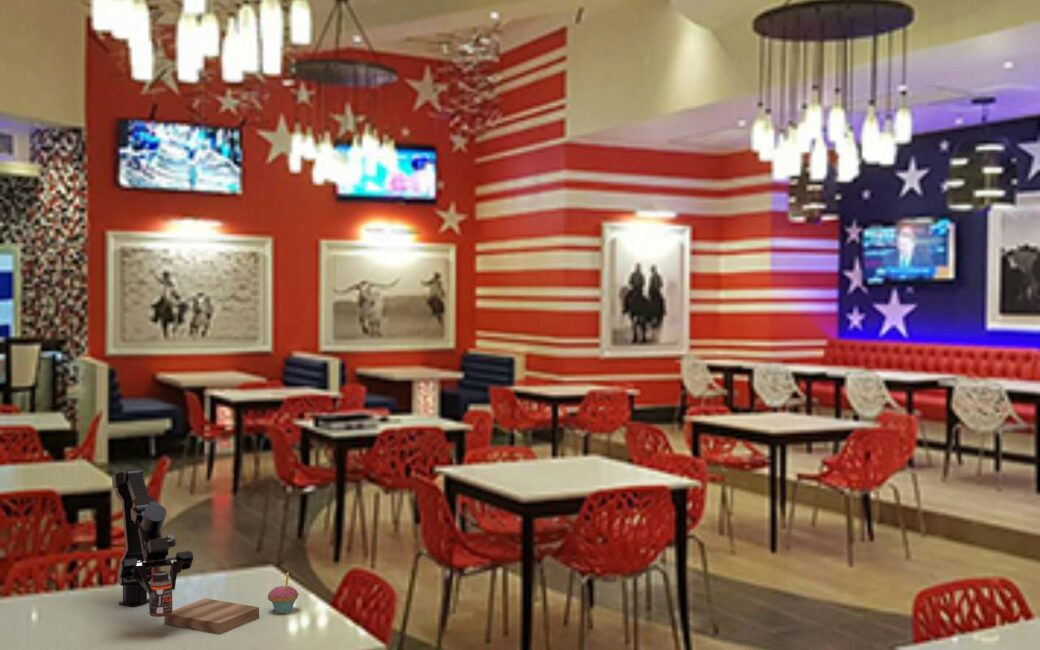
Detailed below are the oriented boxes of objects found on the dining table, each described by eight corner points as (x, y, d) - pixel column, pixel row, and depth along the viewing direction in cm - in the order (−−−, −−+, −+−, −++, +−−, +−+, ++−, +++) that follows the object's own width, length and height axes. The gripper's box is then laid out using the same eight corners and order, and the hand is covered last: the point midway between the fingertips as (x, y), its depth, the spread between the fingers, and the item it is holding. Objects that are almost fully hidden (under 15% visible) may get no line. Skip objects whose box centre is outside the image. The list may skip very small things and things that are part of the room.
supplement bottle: (165, 618, 285) (164, 576, 285) (144, 617, 287) (144, 575, 286) (176, 611, 291) (176, 570, 291) (156, 610, 292) (156, 569, 292)
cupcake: (304, 608, 311) (303, 567, 311) (286, 617, 304) (285, 575, 303) (280, 605, 315) (279, 564, 315) (261, 613, 307) (261, 571, 307)
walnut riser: (164, 624, 298) (164, 613, 298) (205, 608, 312) (205, 598, 312) (219, 634, 289) (219, 623, 289) (259, 617, 303) (259, 607, 303)
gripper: (120, 529, 286) (129, 580, 277) (191, 521, 296) (202, 570, 287) (115, 552, 293) (124, 602, 285) (184, 543, 303) (195, 592, 294)
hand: (161, 591), depth 287 cm, fingers closed on supplement bottle, 6 cm apart
